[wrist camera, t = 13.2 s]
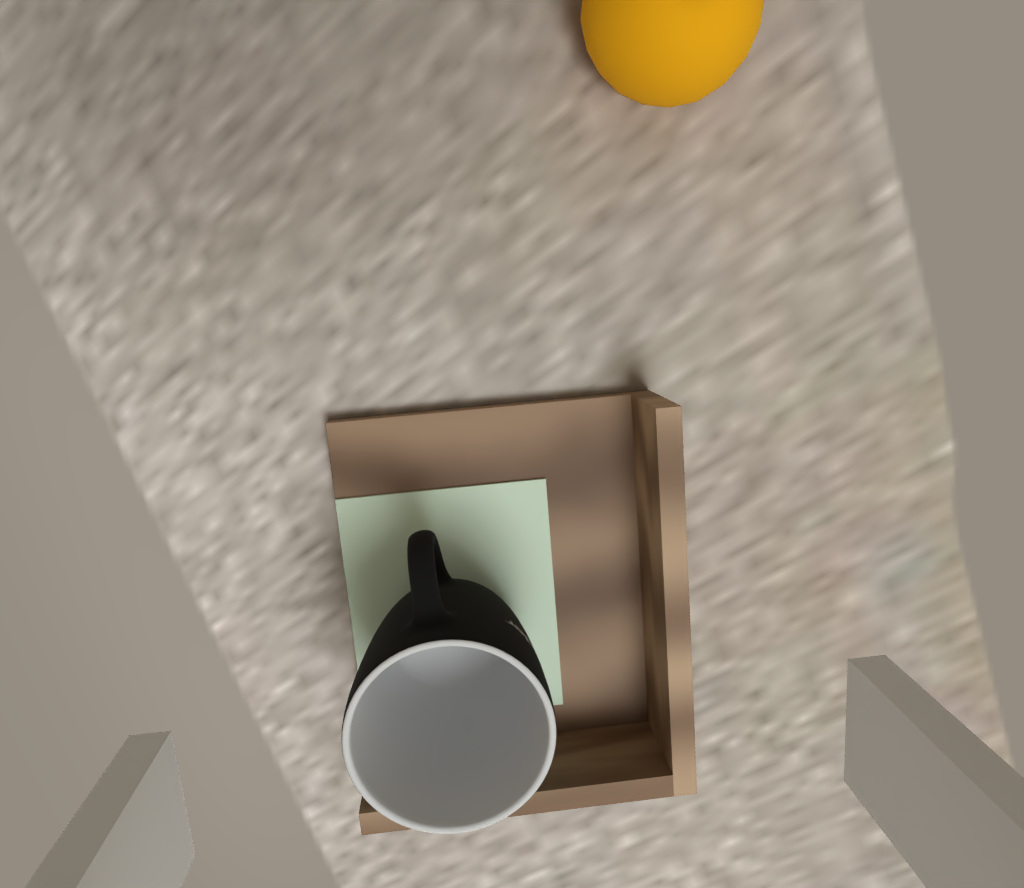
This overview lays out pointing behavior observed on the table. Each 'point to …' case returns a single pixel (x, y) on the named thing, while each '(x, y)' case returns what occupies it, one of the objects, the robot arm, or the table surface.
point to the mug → (448, 706)
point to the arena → (574, 570)
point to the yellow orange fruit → (669, 45)
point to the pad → (455, 555)
